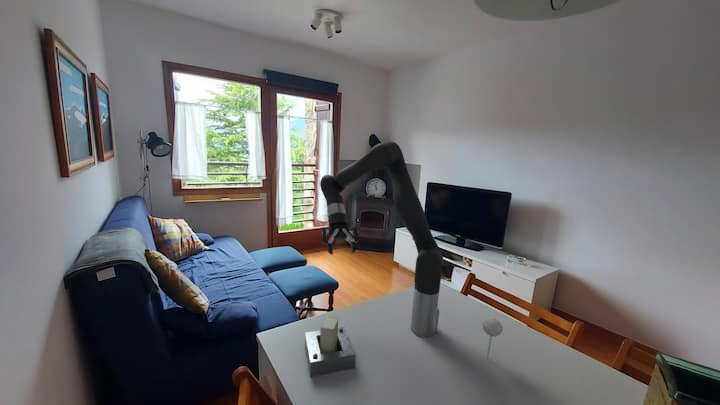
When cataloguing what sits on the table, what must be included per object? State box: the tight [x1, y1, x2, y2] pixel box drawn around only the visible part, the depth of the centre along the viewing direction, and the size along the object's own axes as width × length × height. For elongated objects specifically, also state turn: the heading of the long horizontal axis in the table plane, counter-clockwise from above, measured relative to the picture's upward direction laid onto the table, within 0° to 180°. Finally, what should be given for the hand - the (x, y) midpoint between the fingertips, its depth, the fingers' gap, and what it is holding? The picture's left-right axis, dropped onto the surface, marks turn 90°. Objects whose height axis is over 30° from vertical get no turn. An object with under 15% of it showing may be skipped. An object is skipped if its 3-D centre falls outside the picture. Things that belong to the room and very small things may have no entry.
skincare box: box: [319, 316, 339, 354], centre depth 90 cm, size 6×4×12 cm
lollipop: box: [481, 316, 504, 360], centre depth 93 cm, size 6×6×15 cm
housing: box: [304, 326, 357, 378], centre depth 91 cm, size 14×14×5 cm
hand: (342, 253), depth 105 cm, fingers open, 8 cm apart
